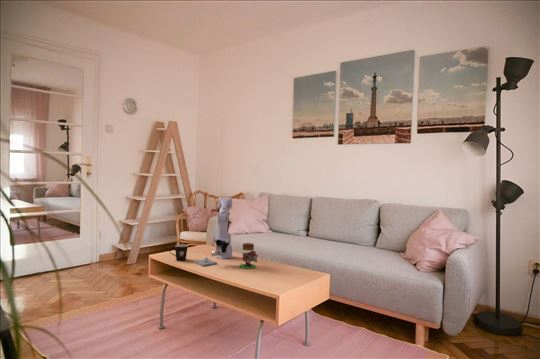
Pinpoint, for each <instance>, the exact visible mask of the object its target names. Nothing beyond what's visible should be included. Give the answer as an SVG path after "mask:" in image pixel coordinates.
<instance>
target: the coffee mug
mask: <svg viewBox="0 0 540 359" xmlns="http://www.w3.org/2000/svg"><path fill="white" fill-rule="evenodd" d="M188 247H189V245H188V244H181V243H179V244H176V245H175V246H174V247H171V248H169V253H170V254H171V255H173V256H174V257H175V260H176V261H177V262H185V261H186V260H187V253H188ZM172 249H173V250H174V251H175V254H174V253H173V252H171V250H172Z"/></svg>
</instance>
